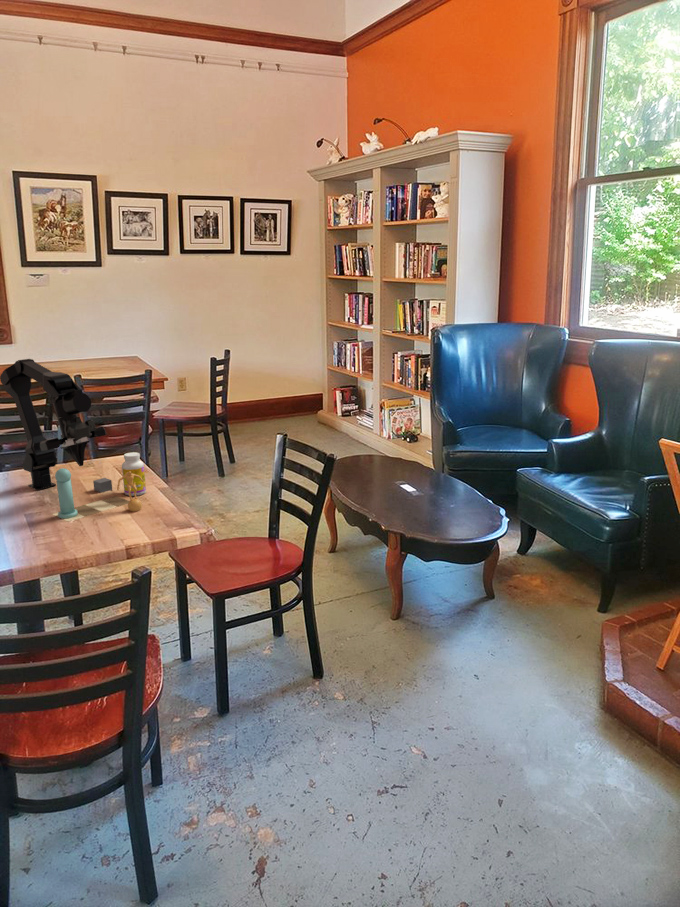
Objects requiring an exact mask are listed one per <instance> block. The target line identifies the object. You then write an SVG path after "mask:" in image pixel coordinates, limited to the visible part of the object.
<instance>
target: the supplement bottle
mask: <svg viewBox="0 0 680 907" xmlns="http://www.w3.org/2000/svg"><path fill="white" fill-rule="evenodd" d="M140 457H141V455H140V452H133V451H132V452H127V453H124V454H123V460H124V462H123V463H122V464H121V472H122V477H123V476H124V475H125V474H126V473H127V472H129V471H131V473H132V474H135V475H139V476H140V477H141V478H142V479H143V481H144V482H145V484H144V482H142V481H141V479H140V478H139V477H134V478H133V483H135V485H136V488H137V492H136V497H137V496H142V495H144V494H146V492H147V486H145V485H146V484H147V483H146V476H145V475H146V474H145V465H144V462H143V461H141V460H140V459H141V458H140ZM122 482H123V483H122V484H123V492H124V494H125V495H126V496H129V491H128V489H127V487H126V484H128V482H127V480H126V478H124V479H122ZM134 491H135V490H134V489H133V487H131V497H135V496H134ZM129 497H130V496H129Z"/></svg>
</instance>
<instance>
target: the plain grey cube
mask: <svg viewBox="0 0 680 907" xmlns="http://www.w3.org/2000/svg"><path fill="white" fill-rule="evenodd" d="M92 483H93V490H94V491H96V492H98V493H100V494H101V493H105V492H109V491H110V492H113V485H112V484H113V482H112V479H109V478H107V477H103V478H99V479H95V480H93V482H92Z"/></svg>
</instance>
